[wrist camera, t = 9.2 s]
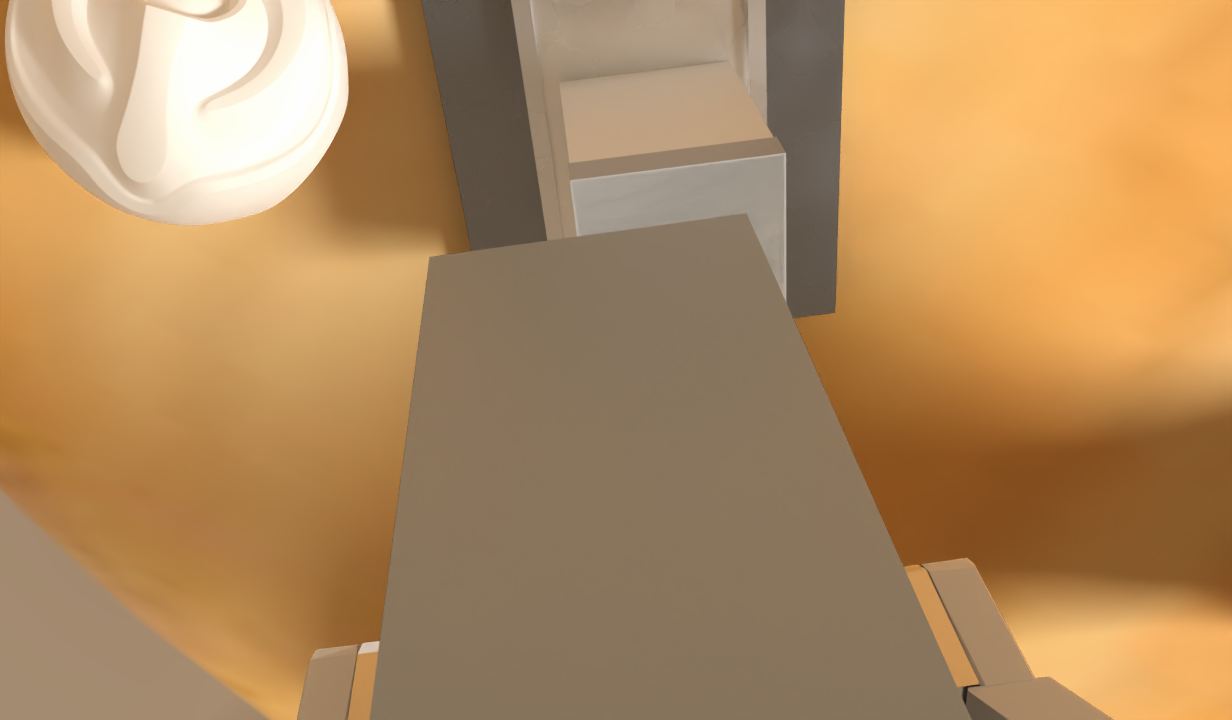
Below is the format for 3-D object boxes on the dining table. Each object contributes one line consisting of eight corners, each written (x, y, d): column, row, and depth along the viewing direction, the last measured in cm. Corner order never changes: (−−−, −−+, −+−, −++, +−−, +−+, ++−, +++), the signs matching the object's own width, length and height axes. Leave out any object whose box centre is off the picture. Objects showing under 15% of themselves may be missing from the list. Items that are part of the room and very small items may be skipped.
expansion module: (746, 213, 13) (1026, 840, 6) (759, 553, 16) (945, 1202, 9) (430, 257, 13) (339, 943, 6) (509, 588, 16) (511, 1269, 9)
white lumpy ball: (388, -59, 28) (355, 21, 22) (337, 182, 32) (295, 309, 26) (81, -161, 26) (-54, -107, 20) (64, 109, 30) (-54, 227, 24)
